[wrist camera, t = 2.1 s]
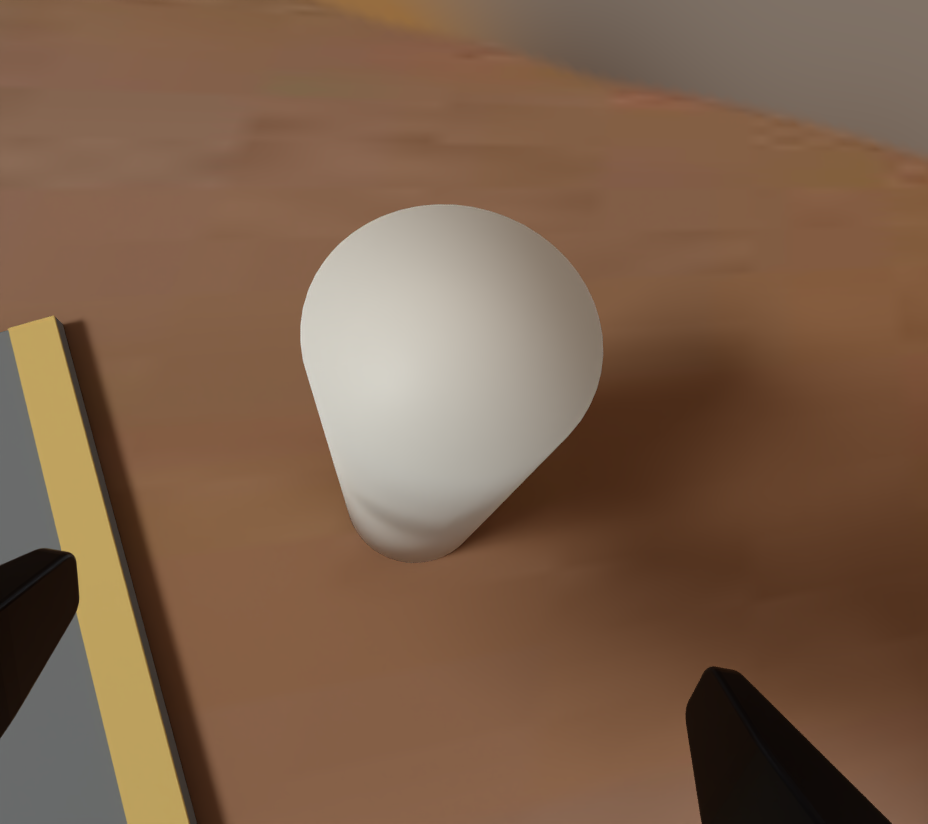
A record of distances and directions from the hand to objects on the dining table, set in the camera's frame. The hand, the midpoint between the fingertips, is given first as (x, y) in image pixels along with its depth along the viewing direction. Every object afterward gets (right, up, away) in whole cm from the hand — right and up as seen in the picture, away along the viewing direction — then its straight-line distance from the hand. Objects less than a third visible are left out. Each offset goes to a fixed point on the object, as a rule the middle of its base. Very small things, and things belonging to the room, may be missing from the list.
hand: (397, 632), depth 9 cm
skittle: (-1, 0, +12) cm, 12 cm away
